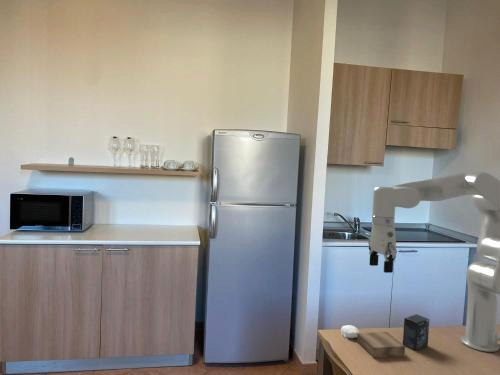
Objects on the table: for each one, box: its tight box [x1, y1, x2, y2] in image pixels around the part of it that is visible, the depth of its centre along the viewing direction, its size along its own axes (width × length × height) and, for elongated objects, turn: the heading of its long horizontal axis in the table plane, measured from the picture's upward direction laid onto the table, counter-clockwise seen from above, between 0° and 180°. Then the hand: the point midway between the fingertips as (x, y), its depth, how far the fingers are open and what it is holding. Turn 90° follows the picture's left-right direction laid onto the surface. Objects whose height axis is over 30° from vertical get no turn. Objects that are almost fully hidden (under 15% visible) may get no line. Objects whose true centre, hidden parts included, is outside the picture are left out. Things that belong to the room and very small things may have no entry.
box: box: [402, 314, 431, 351], centre depth 142 cm, size 8×6×11 cm
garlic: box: [340, 324, 360, 341], centre depth 148 cm, size 8×7×4 cm
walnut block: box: [356, 331, 406, 359], centre depth 138 cm, size 12×12×4 cm
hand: (380, 268), depth 136 cm, fingers open, 9 cm apart
